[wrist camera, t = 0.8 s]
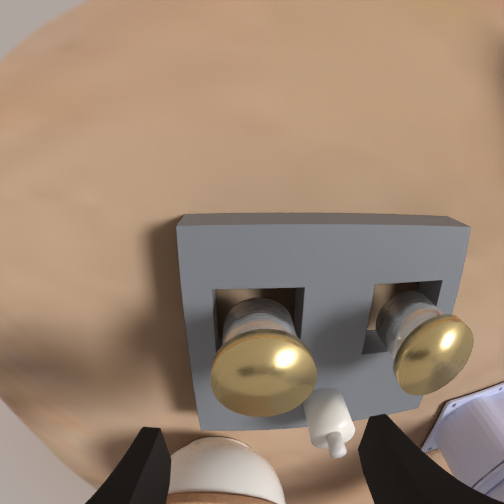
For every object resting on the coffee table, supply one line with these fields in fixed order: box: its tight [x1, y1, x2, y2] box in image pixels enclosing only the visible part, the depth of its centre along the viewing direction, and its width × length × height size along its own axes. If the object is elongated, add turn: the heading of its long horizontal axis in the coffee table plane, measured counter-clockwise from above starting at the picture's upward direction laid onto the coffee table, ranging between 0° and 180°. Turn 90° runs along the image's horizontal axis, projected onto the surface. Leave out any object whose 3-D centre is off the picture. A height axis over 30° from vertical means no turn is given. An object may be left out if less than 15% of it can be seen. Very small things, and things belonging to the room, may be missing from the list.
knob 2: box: [376, 290, 473, 396], centre depth 15 cm, size 4×4×4 cm
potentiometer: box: [303, 387, 355, 458], centre depth 17 cm, size 3×3×4 cm
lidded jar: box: [166, 437, 286, 504], centre depth 19 cm, size 11×11×9 cm
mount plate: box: [176, 213, 471, 431], centre depth 18 cm, size 16×14×2 cm
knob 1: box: [210, 298, 317, 417], centre depth 14 cm, size 4×4×4 cm
